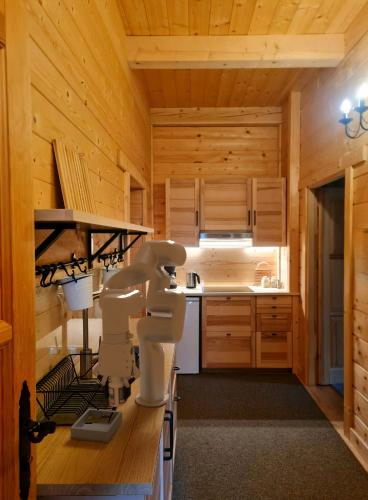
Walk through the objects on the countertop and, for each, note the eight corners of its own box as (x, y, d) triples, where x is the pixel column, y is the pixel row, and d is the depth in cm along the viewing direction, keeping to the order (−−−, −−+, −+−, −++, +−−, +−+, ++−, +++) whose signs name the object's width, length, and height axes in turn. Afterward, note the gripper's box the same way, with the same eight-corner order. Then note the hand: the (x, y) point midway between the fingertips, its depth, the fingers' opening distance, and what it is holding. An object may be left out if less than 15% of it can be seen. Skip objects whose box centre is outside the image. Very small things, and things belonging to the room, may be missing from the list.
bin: (88, 418, 116) (88, 408, 116) (122, 421, 114) (122, 411, 114) (70, 439, 105) (70, 427, 105) (107, 443, 102) (107, 431, 102)
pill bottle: (128, 397, 104) (127, 369, 103) (126, 407, 99) (125, 377, 98) (110, 398, 104) (109, 370, 103) (107, 407, 99) (106, 377, 98)
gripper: (147, 334, 101) (149, 393, 103) (94, 331, 105) (95, 389, 106) (139, 342, 94) (141, 406, 95) (82, 339, 97) (84, 401, 98)
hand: (117, 396), depth 100 cm, fingers closed on pill bottle, 5 cm apart
